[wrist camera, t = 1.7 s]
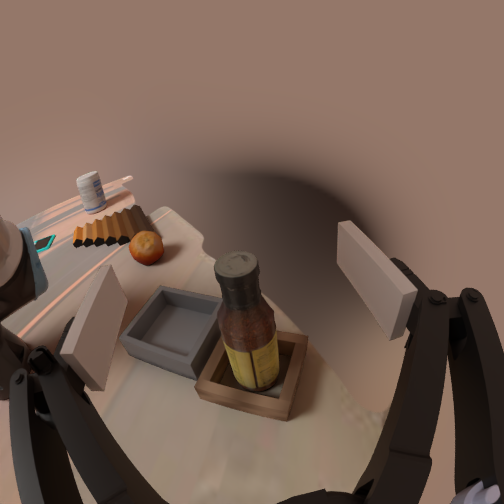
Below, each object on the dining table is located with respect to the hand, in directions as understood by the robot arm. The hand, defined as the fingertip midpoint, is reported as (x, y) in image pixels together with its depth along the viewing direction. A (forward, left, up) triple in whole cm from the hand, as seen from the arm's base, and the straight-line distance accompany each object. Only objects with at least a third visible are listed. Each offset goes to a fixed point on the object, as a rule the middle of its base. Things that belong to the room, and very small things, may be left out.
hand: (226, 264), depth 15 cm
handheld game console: (-89, +23, -26) cm, 96 cm away
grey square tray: (-17, +11, -25) cm, 32 cm away
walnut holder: (-3, +8, -25) cm, 27 cm away
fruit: (-36, +29, -26) cm, 52 cm away
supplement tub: (-83, +53, -26) cm, 101 cm away
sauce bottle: (-3, +8, -26) cm, 27 cm away
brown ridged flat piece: (-56, +35, -26) cm, 72 cm away
